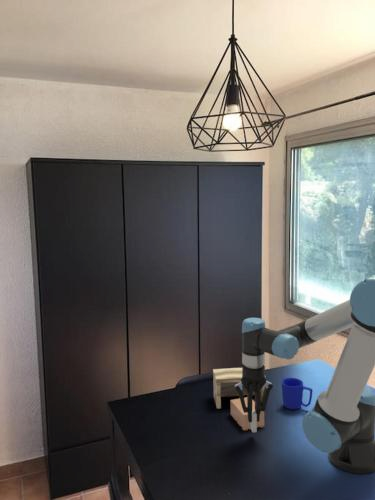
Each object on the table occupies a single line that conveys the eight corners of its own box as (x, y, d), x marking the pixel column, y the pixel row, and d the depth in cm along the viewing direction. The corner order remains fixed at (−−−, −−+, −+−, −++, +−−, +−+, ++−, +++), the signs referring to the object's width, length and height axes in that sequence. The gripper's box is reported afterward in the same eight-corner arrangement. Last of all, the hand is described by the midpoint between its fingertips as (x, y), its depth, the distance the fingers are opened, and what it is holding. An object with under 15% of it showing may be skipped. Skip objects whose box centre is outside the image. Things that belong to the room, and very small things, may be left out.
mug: (307, 416, 162) (307, 391, 161) (277, 407, 170) (277, 383, 168) (315, 407, 169) (316, 383, 168) (286, 399, 176) (286, 375, 175)
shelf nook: (266, 405, 172) (266, 377, 170) (217, 408, 170) (216, 380, 169) (259, 393, 182) (259, 366, 181) (213, 395, 181) (212, 369, 180)
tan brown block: (264, 427, 156) (264, 411, 156) (243, 431, 154) (243, 415, 153) (250, 411, 168) (249, 396, 167) (230, 415, 166) (230, 400, 165)
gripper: (269, 359, 150) (269, 423, 153) (232, 360, 149) (232, 425, 153) (275, 367, 143) (275, 435, 146) (236, 369, 142) (236, 437, 145)
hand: (253, 430), depth 149 cm, fingers closed
